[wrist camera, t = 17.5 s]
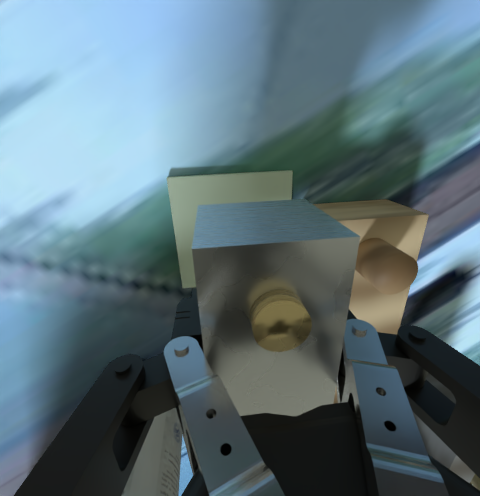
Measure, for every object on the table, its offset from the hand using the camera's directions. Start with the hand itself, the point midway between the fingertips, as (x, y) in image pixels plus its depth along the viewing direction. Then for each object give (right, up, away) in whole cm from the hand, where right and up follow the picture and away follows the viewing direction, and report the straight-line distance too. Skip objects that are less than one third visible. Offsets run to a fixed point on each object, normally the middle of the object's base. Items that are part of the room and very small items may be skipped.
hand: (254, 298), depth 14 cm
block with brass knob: (0, -1, +1) cm, 1 cm away
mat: (-1, +4, +9) cm, 10 cm away
